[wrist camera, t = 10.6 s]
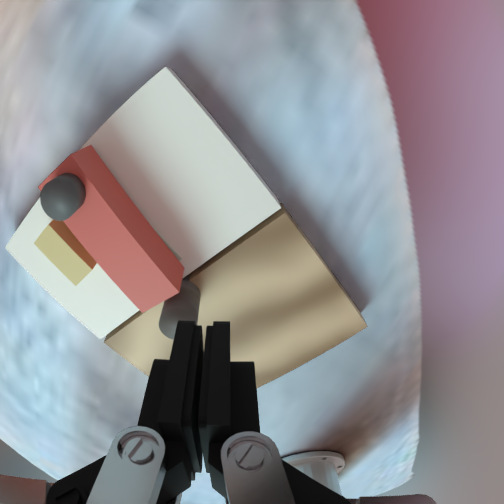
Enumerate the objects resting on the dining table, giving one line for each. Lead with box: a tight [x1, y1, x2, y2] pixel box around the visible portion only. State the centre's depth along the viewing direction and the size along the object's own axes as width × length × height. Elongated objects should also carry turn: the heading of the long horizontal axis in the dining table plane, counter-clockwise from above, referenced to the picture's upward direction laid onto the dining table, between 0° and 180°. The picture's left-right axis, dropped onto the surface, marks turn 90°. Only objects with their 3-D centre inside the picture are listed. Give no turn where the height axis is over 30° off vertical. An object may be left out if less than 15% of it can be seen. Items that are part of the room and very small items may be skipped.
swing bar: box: [38, 145, 185, 313], centre depth 18 cm, size 10×3×4 cm, turn 31°
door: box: [5, 67, 281, 339], centre depth 20 cm, size 11×18×4 cm, turn 127°
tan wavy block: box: [104, 203, 367, 388], centre depth 24 cm, size 13×18×5 cm
